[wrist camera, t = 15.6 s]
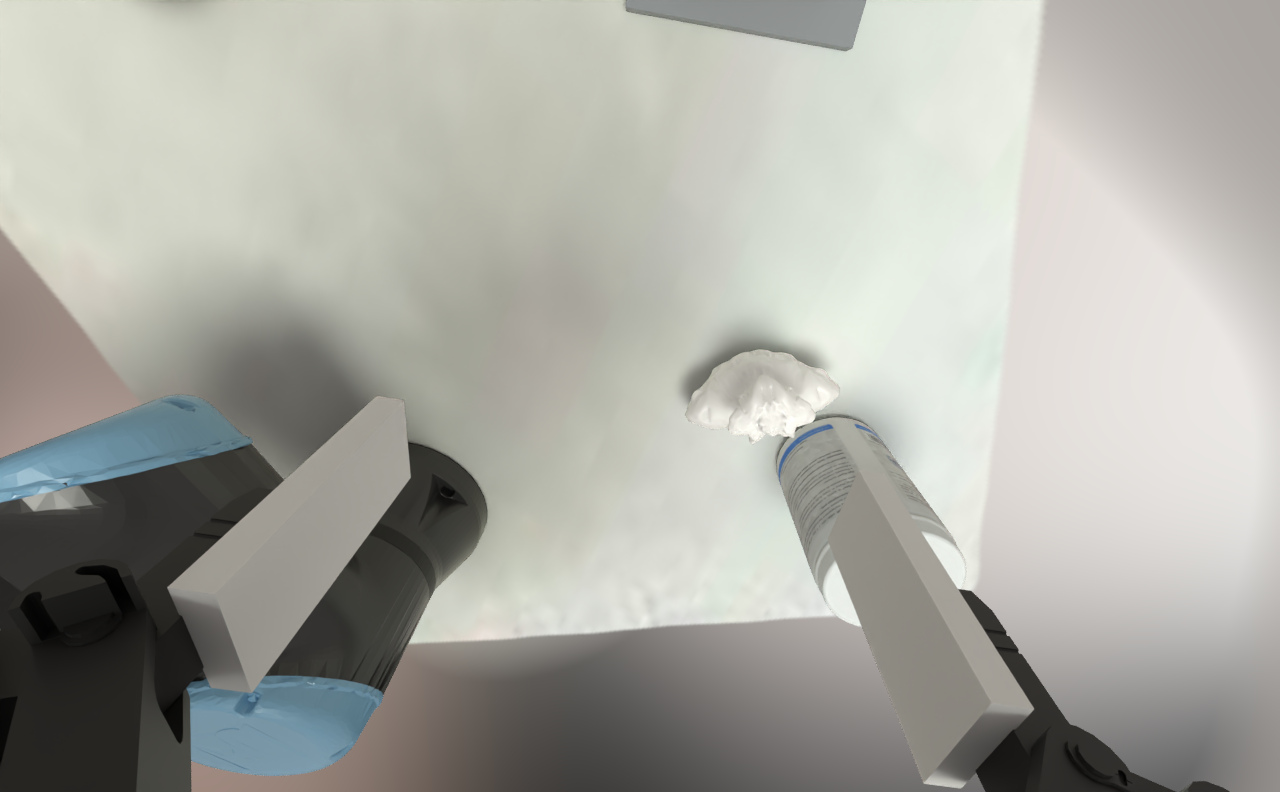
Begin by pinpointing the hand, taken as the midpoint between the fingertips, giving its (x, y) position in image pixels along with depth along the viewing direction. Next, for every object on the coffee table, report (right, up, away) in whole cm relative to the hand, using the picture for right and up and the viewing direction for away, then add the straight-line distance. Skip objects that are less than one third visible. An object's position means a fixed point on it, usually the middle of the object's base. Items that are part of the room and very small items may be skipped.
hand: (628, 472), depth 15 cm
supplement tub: (+18, -3, +31) cm, 36 cm away
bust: (+10, +4, +28) cm, 30 cm away
